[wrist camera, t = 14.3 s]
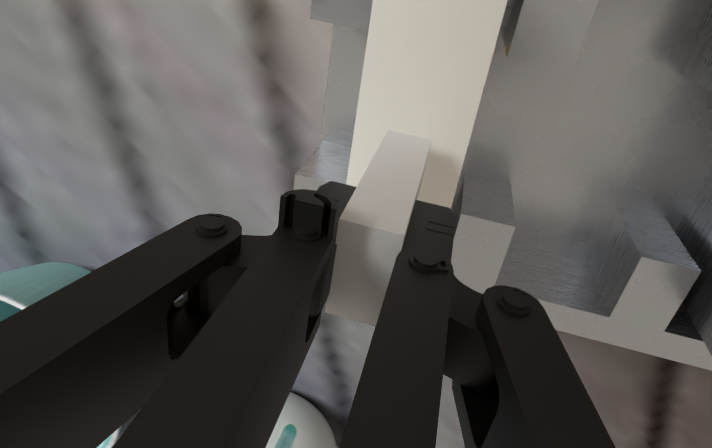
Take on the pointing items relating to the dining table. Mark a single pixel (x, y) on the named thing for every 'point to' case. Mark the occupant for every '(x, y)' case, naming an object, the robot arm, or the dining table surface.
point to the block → (425, 83)
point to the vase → (301, 426)
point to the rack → (575, 165)
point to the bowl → (39, 294)
